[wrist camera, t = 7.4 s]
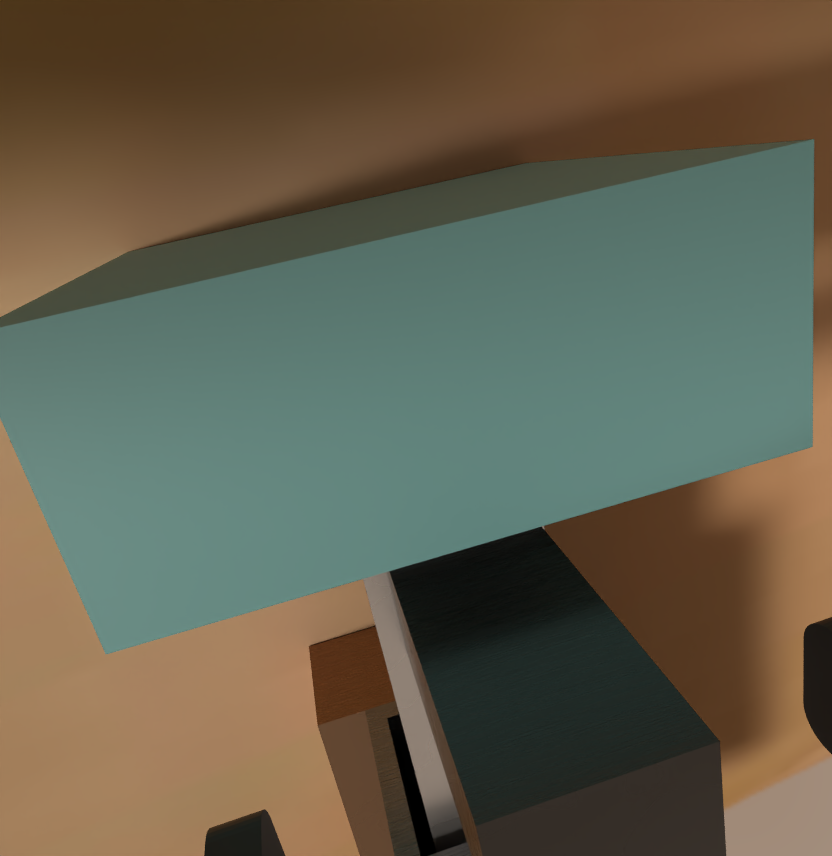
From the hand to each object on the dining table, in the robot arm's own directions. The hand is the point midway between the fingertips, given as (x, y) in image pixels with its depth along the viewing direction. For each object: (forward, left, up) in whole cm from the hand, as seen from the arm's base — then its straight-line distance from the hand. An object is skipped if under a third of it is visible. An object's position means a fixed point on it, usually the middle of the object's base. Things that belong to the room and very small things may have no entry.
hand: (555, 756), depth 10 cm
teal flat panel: (-5, 0, -14) cm, 15 cm away
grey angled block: (+3, 0, -9) cm, 10 cm away
